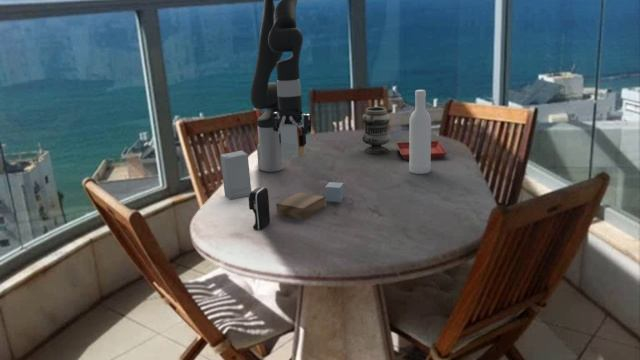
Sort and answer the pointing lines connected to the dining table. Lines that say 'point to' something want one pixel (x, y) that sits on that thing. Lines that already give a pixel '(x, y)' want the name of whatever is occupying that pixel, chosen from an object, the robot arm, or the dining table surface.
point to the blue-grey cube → (334, 192)
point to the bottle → (420, 136)
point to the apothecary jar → (376, 129)
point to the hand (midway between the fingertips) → (293, 145)
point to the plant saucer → (436, 150)
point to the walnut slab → (300, 205)
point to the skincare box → (236, 174)
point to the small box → (290, 141)
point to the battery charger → (260, 207)
